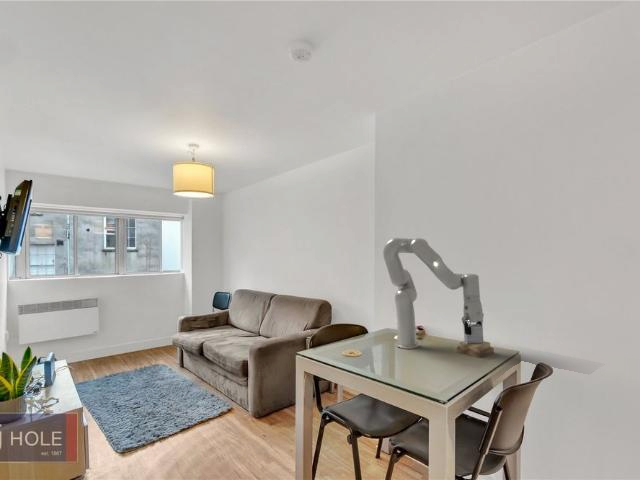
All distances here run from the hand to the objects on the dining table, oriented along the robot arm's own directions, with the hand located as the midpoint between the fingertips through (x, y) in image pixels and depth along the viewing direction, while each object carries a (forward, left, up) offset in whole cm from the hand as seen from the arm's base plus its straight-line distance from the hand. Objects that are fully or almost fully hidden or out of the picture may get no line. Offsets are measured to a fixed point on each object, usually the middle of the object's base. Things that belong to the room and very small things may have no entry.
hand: (473, 332), depth 161 cm
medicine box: (0, 0, -5) cm, 5 cm away
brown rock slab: (0, 0, -10) cm, 10 cm away
